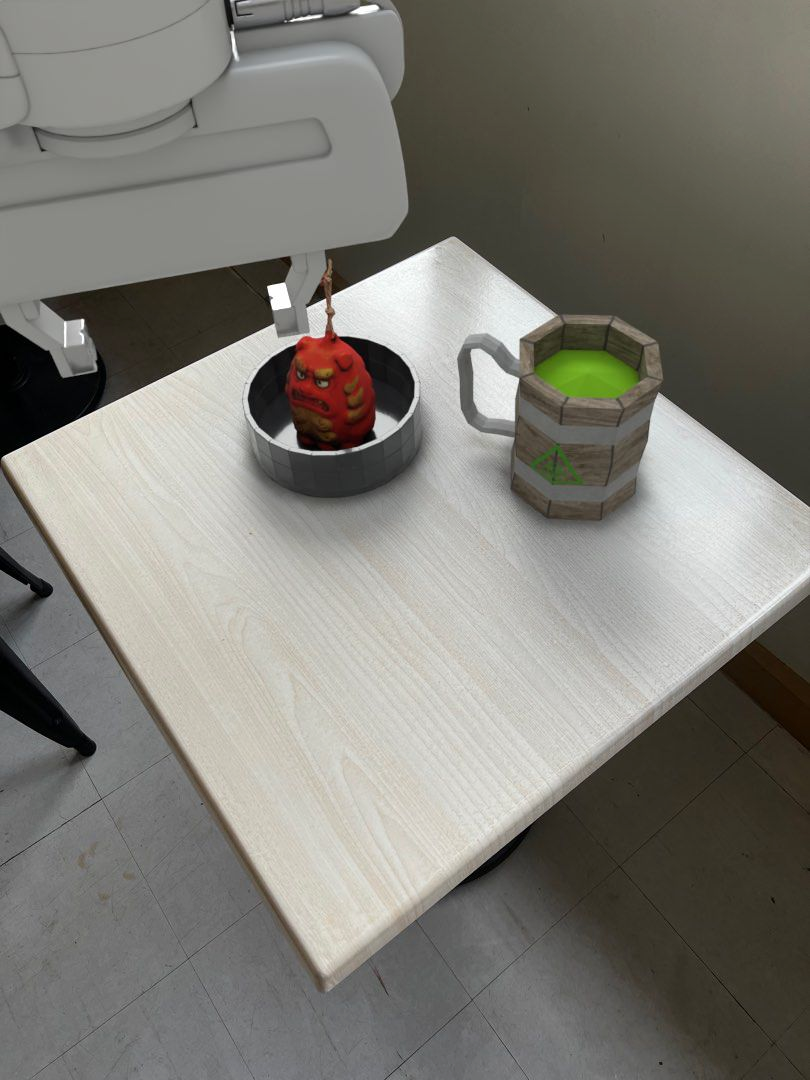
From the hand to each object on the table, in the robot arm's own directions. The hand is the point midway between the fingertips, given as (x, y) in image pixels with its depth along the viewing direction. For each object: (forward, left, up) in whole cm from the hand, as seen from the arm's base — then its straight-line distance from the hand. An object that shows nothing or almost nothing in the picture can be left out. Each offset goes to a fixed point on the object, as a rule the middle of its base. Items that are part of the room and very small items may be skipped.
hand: (187, 346), depth 39 cm
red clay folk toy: (+8, +22, -28) cm, 37 cm away
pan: (+8, +22, -29) cm, 37 cm away
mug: (+24, +14, -29) cm, 40 cm away
